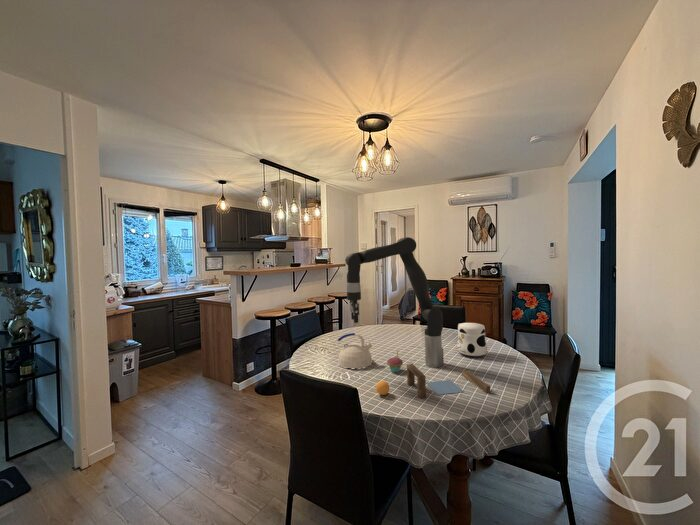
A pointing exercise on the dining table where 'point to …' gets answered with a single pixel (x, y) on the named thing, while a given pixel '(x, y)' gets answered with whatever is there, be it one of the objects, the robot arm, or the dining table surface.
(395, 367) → the cupcake
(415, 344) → the dining table surface
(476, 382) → the wall
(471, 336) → the milk container
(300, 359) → the dining table surface
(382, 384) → the ball
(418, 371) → the bridge
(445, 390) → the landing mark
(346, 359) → the kettle
